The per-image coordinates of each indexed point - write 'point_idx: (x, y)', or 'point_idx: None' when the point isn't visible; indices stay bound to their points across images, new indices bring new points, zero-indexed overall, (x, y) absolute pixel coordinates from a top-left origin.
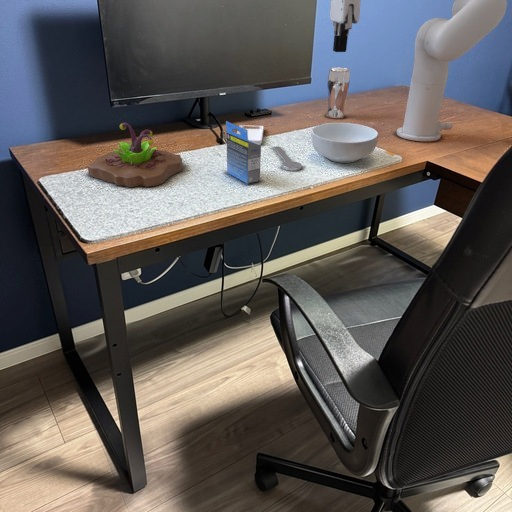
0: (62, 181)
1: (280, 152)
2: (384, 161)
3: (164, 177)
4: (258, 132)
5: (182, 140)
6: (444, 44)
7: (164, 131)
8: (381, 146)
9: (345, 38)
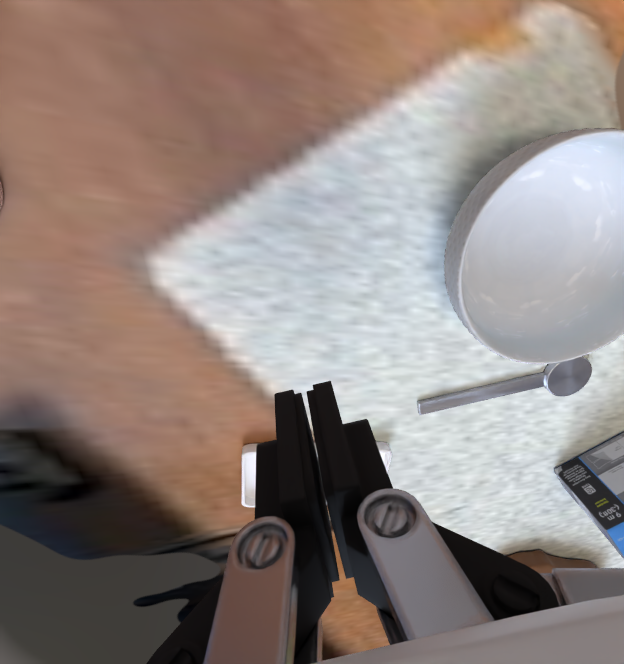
0: None
1: (467, 400)
2: (576, 93)
3: (588, 566)
4: None
5: (348, 581)
6: None
7: None
8: (415, 54)
9: (390, 485)
